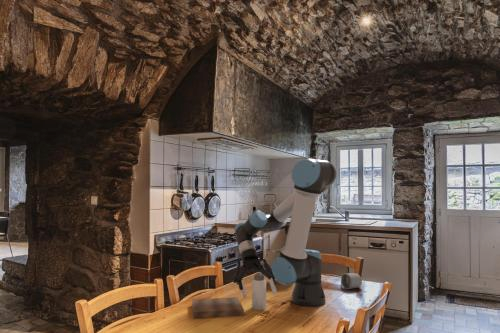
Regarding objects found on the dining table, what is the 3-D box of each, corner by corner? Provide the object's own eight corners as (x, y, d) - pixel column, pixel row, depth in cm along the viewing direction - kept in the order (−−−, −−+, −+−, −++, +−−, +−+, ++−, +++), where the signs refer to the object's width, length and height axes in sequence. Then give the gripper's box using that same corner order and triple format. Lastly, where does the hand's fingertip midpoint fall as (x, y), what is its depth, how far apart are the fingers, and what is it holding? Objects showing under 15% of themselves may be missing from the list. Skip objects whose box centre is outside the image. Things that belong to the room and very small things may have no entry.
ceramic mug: (363, 288, 182) (362, 273, 182) (351, 290, 178) (350, 275, 178) (348, 284, 191) (347, 269, 192) (336, 286, 187) (336, 271, 188)
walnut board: (237, 302, 159) (237, 297, 159) (243, 315, 143) (243, 309, 143) (192, 305, 155) (192, 299, 155) (193, 318, 140) (193, 312, 140)
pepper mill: (264, 305, 156) (264, 271, 157) (267, 309, 150) (267, 274, 151) (250, 305, 155) (251, 271, 156) (253, 310, 149) (253, 274, 150)
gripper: (270, 255, 173) (284, 296, 158) (220, 259, 164) (230, 302, 149) (275, 246, 168) (289, 287, 153) (224, 249, 159) (234, 293, 144)
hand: (260, 294), depth 151 cm, fingers open, 13 cm apart
